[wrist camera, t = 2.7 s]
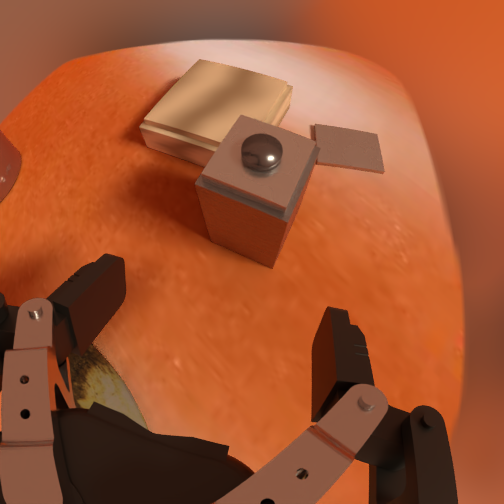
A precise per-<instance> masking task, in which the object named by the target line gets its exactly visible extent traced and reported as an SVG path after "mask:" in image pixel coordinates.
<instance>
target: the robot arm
mask: <svg viewBox="0 0 504 504" xmlns="http://www.w3.org/2000/svg"><path fill="white" fill-rule="evenodd" d="M20 166H21V155H20V152H19V151H18V150H17V149H16V148H15V147H14V146H13V144H12V143H11V142H10V141H9V140H8V139H7V138H6V136H5V135H4V134H3V133H2V131H1V130H0V202H1V201H2V200H3V199H4V197H5V196H6V195H7V194H8V192H9V191H10V189H11V188H12V186H13V184H14V182H15V181H16V178H17V176H18V173H19V170H20ZM125 295H126V282H125V264H124V259H123V258H121V257H118V256H114V255H110V254H104V255H102V256H101V257H100V258H99V259H98V260H97V261H96V262H92V263H89V264H87V265H85V266H83V267H81V268H80V269H79V270H78V271H76V272H75V273H74V275H72V276H71V277H70V278H69V279H68V281H65V282H64V283H63V284H62V285H61V286H60V287H59V288H58V289H56V290H55V291H54V292H53V293H52V294H51V295H50V296H49V297H48V298H47V299H43V298H34V299H30V300H28V301H26V302H25V303H23V304H22V305H21V306H20V307H17V306H10V305H7V303H6V300H5V297H4V295H3V294H2V293H0V392H1V390H2V408H1V415H2V431H1V432H0V504H315V503H316V502H317V501H318V500H319V499H320V498H321V497H322V496H323V495H324V494H325V493H326V492H327V491H328V490H329V489H330V488H331V486H332V485H333V484H334V483H335V482H336V481H337V480H338V479H339V477H340V476H341V475H342V474H343V473H344V472H345V470H346V469H347V468H348V467H349V466H350V464H351V463H352V462H353V460H354V459H356V460H359V461H362V462H365V463H368V464H369V504H458V498H457V490H456V483H455V475H454V469H453V462H452V456H451V451H450V446H449V441H448V436H447V431H446V427H445V422H444V419H443V417H442V416H441V414H440V413H439V412H438V411H437V410H435V409H434V408H432V407H430V406H425V405H422V406H418V407H416V408H414V410H413V411H412V412H411V413H408V412H405V411H403V410H400V409H397V408H394V407H392V406H390V405H388V401H387V399H386V397H385V395H384V394H383V393H382V392H381V391H380V390H379V389H378V388H376V387H375V385H374V380H373V374H372V369H371V364H370V359H369V356H368V350H367V348H366V346H367V345H366V341H365V336H364V334H363V333H362V332H361V330H360V329H359V327H358V326H356V325H351V324H350V320H349V315H348V311H347V310H343V309H338V308H333V307H327V308H326V310H325V313H324V315H323V318H322V320H321V323H320V325H319V328H318V330H317V333H316V335H315V338H314V341H313V345H312V415H311V422H318V423H317V424H316V425H314V426H310V427H309V428H308V429H306V430H305V431H304V432H303V433H302V434H301V435H300V436H299V437H298V438H297V439H295V440H294V441H293V442H292V443H291V444H290V445H289V446H288V447H286V448H285V449H284V450H283V451H282V452H281V453H279V454H278V455H277V456H276V457H275V458H273V459H272V460H271V461H270V462H269V463H267V464H266V465H265V466H264V467H262V468H261V469H260V470H259V471H257V472H256V473H254V472H253V471H252V470H251V469H250V468H249V467H248V466H246V465H245V464H244V463H242V462H241V461H239V460H237V459H236V458H234V457H232V456H230V455H227V454H228V450H229V446H227V445H222V444H218V443H214V442H210V441H206V440H202V439H198V438H195V437H183V436H171V435H161V434H155V433H152V432H150V431H149V430H147V429H146V428H144V427H143V426H141V425H139V424H138V423H136V422H135V421H133V420H132V419H130V418H129V417H128V416H126V415H125V414H123V413H120V412H118V411H116V410H113V409H111V408H108V407H106V406H104V405H102V404H99V403H97V402H95V401H94V402H93V404H92V405H91V407H90V409H85V408H76V406H75V403H74V398H73V392H72V384H71V376H70V366H69V359H68V356H69V354H70V353H71V352H72V353H74V354H76V355H78V356H81V357H82V355H83V354H84V353H85V351H86V350H87V349H88V347H89V346H90V345H91V343H92V342H93V341H94V339H95V338H96V337H97V336H98V334H99V333H100V332H101V330H102V329H103V328H104V326H105V325H106V324H107V323H108V321H109V320H110V319H111V318H112V316H113V315H114V314H115V312H116V311H117V310H118V309H119V307H120V306H121V305H122V303H123V301H124V299H125Z"/></svg>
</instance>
